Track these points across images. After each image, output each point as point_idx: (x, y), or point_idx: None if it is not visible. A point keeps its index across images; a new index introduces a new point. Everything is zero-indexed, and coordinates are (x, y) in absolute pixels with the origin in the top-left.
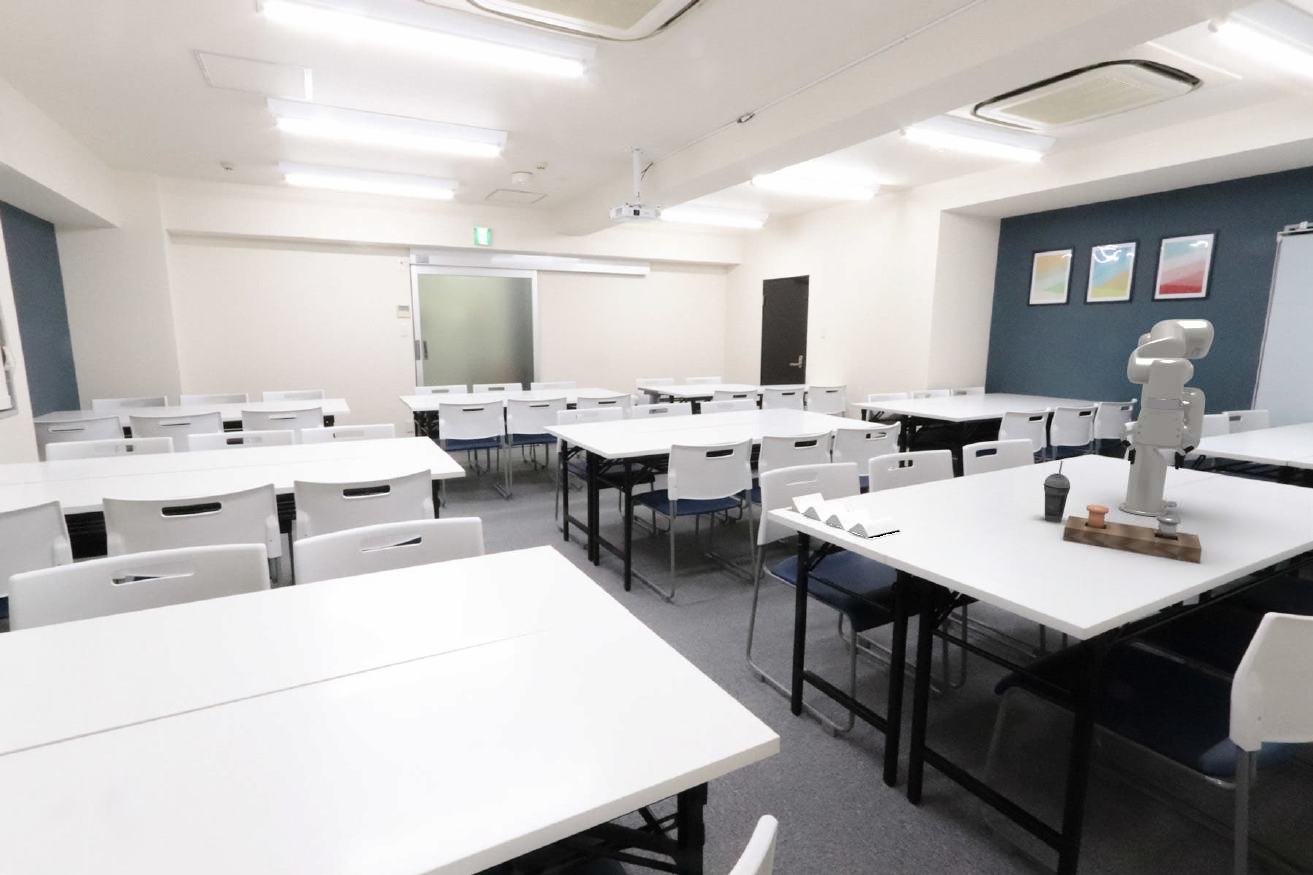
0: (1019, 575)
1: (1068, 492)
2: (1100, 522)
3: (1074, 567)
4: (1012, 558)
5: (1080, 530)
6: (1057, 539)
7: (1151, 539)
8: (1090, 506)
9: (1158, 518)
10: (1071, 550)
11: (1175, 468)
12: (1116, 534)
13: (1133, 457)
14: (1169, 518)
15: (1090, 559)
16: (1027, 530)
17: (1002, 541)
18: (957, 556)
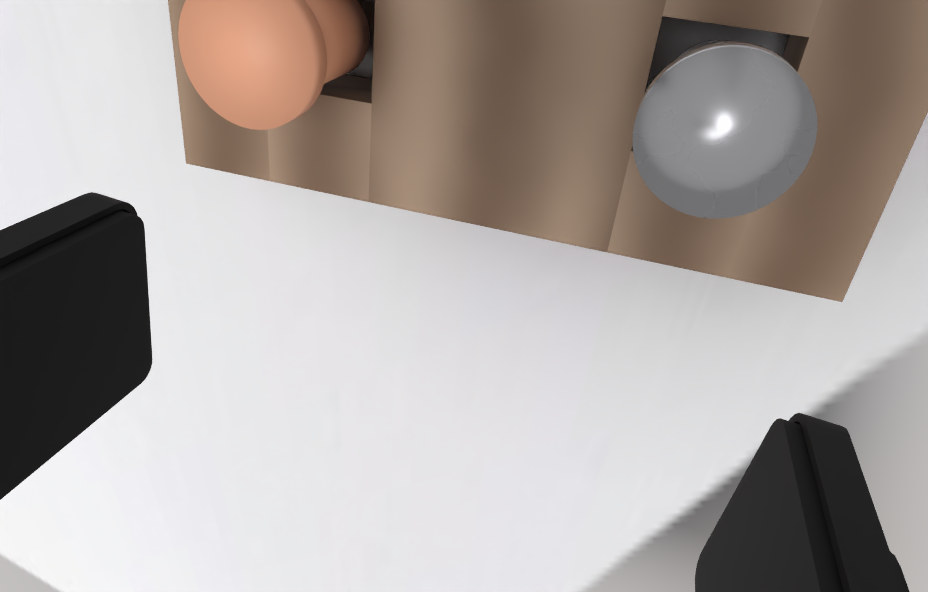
0: (200, 567)
1: None
2: (325, 82)
3: (312, 474)
4: (146, 449)
5: (260, 176)
6: None
7: (597, 214)
8: (200, 44)
9: (637, 165)
10: (283, 291)
11: (703, 572)
12: (423, 193)
13: (49, 449)
14: (715, 167)
15: (354, 378)
16: (68, 39)
17: None
18: (33, 476)
